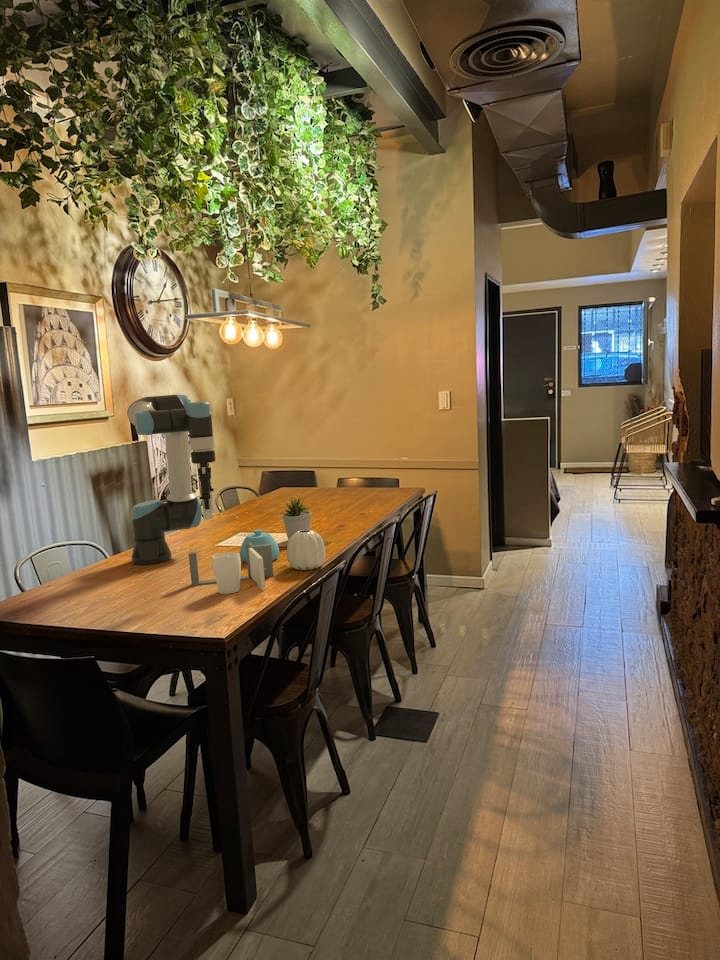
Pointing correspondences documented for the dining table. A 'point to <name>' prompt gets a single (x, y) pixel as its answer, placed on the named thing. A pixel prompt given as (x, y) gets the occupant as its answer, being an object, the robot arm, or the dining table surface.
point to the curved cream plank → (257, 568)
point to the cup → (227, 571)
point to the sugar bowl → (259, 543)
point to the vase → (305, 550)
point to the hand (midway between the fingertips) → (208, 515)
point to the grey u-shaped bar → (260, 549)
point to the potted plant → (296, 518)
